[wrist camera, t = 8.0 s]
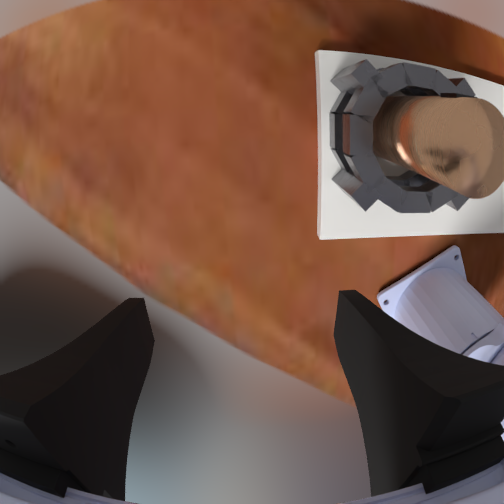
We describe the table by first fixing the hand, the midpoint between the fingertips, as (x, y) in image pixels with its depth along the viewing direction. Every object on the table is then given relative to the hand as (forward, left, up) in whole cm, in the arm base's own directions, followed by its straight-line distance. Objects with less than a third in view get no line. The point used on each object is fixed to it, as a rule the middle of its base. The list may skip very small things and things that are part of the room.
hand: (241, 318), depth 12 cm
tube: (+1, -11, -9) cm, 15 cm away
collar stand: (0, -11, -11) cm, 15 cm away
